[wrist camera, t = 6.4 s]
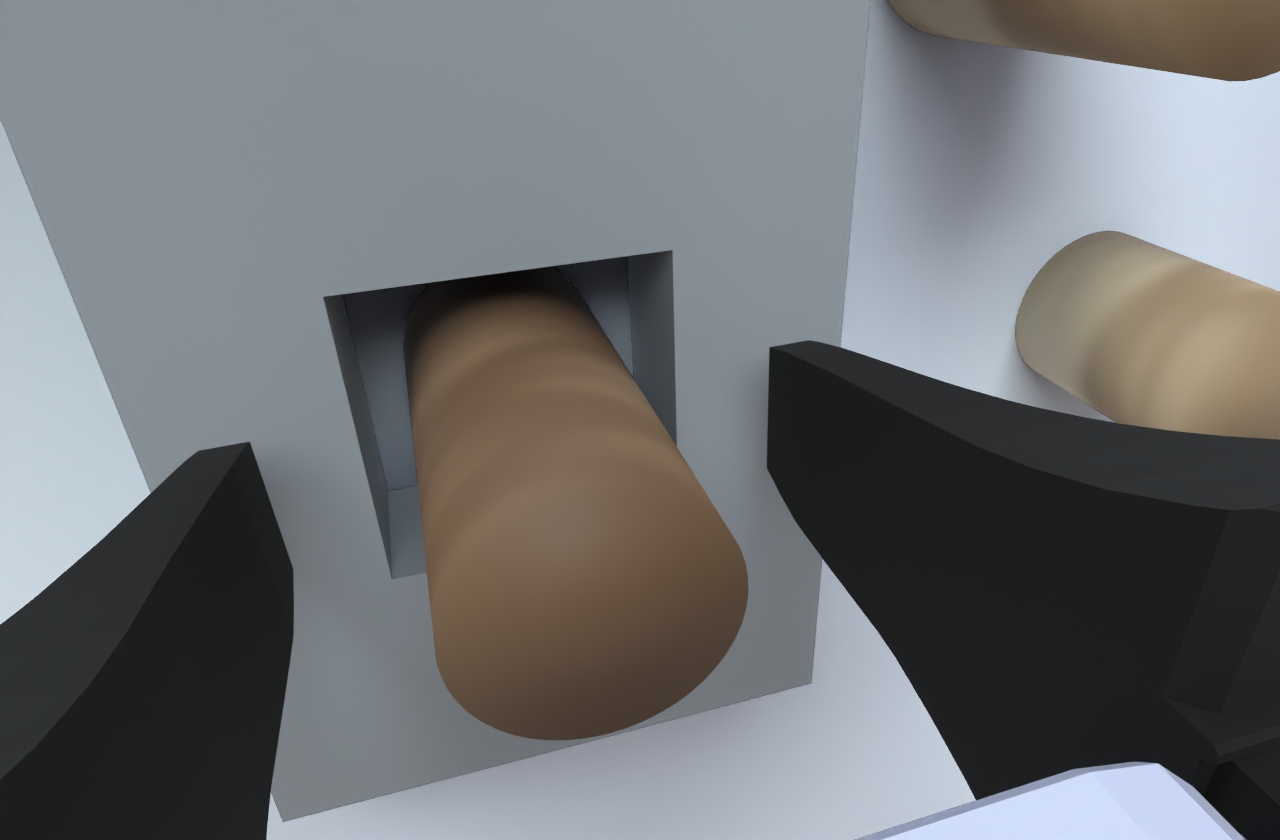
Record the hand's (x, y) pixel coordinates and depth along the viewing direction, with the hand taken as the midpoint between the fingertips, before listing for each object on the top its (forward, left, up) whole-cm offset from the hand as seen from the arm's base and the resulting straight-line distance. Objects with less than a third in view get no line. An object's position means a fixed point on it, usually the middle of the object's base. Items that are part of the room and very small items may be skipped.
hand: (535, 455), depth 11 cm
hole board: (0, 0, -3) cm, 3 cm away
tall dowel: (0, 0, -3) cm, 3 cm away
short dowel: (-12, +1, -3) cm, 13 cm away
